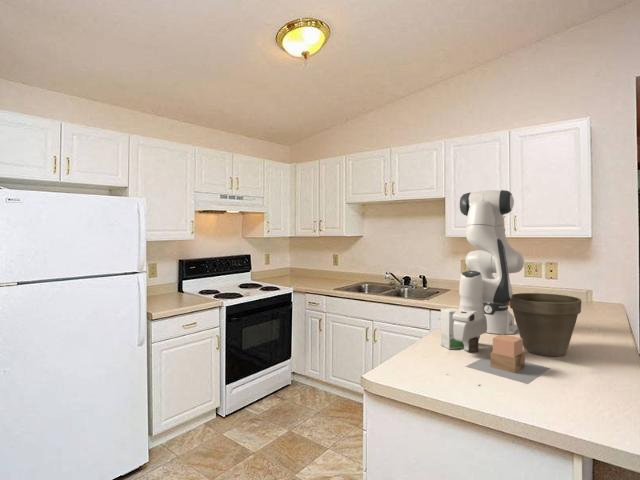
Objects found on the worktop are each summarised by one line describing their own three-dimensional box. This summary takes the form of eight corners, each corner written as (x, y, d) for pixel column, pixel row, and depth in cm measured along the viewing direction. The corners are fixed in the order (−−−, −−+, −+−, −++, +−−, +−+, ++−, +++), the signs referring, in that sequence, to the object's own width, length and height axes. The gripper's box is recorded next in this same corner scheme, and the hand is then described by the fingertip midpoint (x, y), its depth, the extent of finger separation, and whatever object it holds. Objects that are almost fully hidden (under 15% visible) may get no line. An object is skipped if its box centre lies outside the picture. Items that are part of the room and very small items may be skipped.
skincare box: (448, 349, 151) (448, 311, 151) (439, 345, 157) (439, 308, 157) (466, 348, 153) (466, 310, 153) (456, 343, 159) (456, 307, 159)
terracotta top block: (501, 348, 132) (501, 334, 132) (522, 352, 126) (522, 338, 126) (492, 352, 127) (492, 337, 127) (514, 357, 122) (514, 342, 122)
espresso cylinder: (468, 350, 149) (468, 335, 149) (480, 353, 145) (480, 338, 145) (462, 353, 145) (461, 337, 145) (474, 356, 142) (474, 340, 142)
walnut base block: (500, 361, 133) (500, 347, 132) (524, 367, 126) (524, 352, 126) (490, 366, 127) (490, 352, 127) (515, 373, 121) (515, 358, 121)
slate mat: (491, 357, 141) (491, 353, 141) (550, 372, 126) (550, 368, 126) (465, 370, 128) (465, 366, 128) (527, 388, 113) (527, 384, 113)
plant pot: (495, 345, 157) (495, 294, 156) (537, 339, 165) (537, 290, 165) (550, 364, 133) (550, 304, 133) (596, 356, 142) (597, 299, 141)
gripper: (476, 308, 154) (476, 341, 154) (450, 315, 141) (450, 351, 141) (491, 310, 149) (491, 344, 150) (466, 318, 136) (466, 356, 136)
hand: (471, 348), depth 145 cm, fingers closed on espresso cylinder, 5 cm apart
